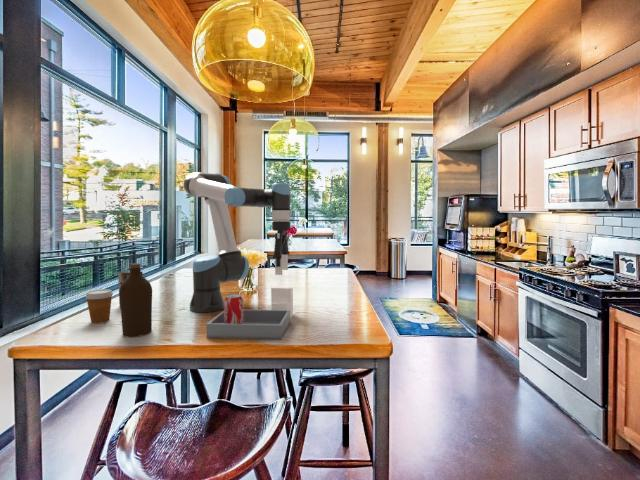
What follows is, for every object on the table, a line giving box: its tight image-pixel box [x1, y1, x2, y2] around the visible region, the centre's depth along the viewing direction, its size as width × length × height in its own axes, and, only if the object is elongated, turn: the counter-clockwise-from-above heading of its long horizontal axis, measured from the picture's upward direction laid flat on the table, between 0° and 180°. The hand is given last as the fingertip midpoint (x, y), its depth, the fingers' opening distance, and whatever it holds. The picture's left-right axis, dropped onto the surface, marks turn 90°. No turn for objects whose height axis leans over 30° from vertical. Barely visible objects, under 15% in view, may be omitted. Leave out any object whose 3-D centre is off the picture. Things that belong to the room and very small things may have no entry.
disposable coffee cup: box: [84, 288, 114, 324], centre depth 148 cm, size 10×10×12 cm
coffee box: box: [117, 270, 144, 305], centre depth 173 cm, size 9×6×16 cm
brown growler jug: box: [118, 262, 153, 338], centre depth 133 cm, size 11×11×25 cm
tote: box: [205, 309, 291, 341], centre depth 137 cm, size 26×20×5 cm
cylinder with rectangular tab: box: [270, 286, 294, 319], centre depth 156 cm, size 9×9×12 cm
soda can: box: [223, 293, 245, 324], centre depth 137 cm, size 7×7×12 cm
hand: (281, 272), depth 155 cm, fingers open, 13 cm apart
